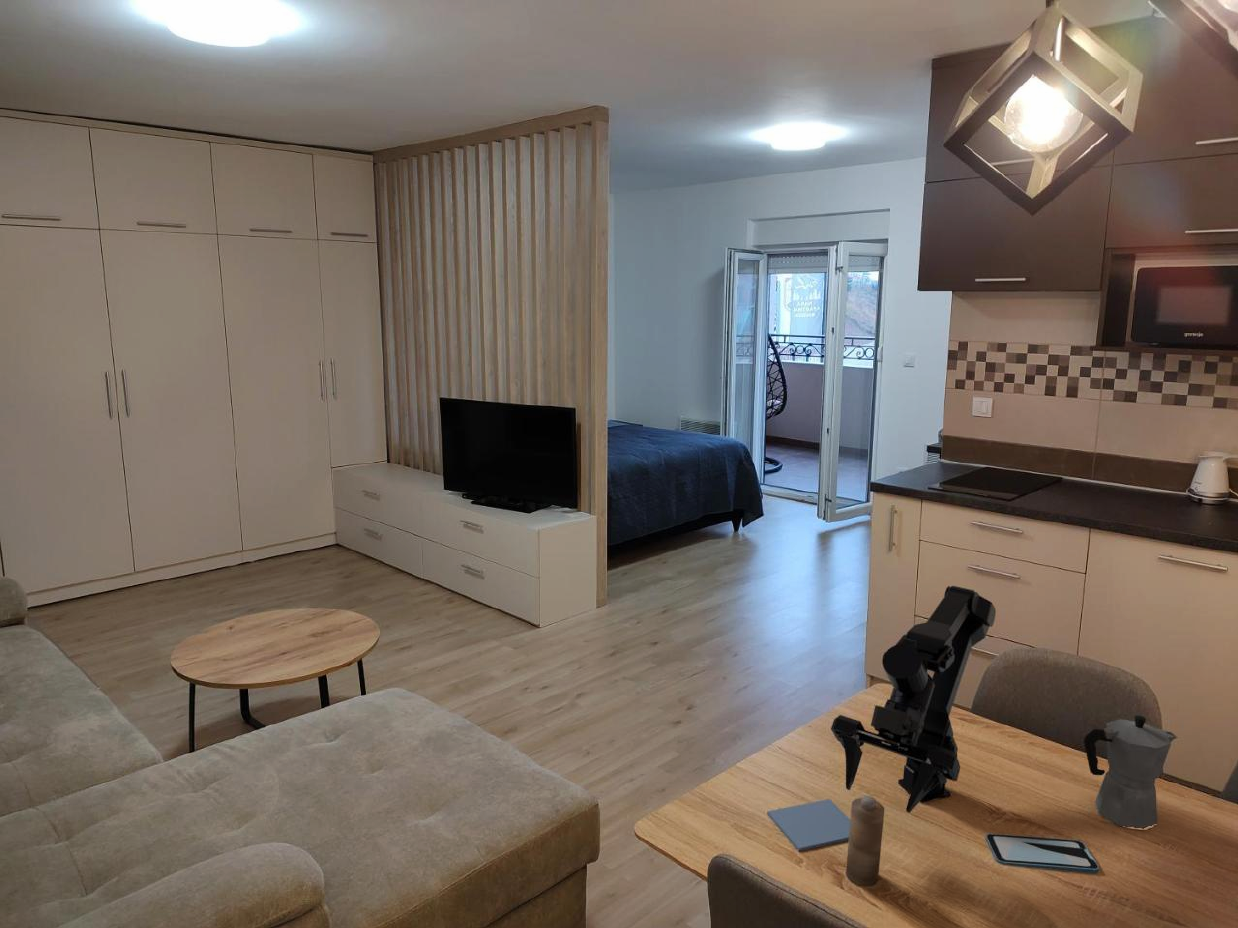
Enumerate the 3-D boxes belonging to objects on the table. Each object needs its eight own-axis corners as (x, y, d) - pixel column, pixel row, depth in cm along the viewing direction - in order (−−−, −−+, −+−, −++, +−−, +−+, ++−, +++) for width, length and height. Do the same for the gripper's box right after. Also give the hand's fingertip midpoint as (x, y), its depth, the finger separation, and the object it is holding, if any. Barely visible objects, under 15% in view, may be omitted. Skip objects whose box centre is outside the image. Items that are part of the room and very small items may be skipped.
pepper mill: (865, 863, 129) (872, 788, 127) (884, 883, 125) (891, 805, 123) (839, 869, 128) (846, 793, 125) (857, 889, 124) (864, 811, 121)
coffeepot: (1145, 798, 148) (1160, 702, 145) (1182, 831, 139) (1199, 730, 135) (1059, 798, 148) (1072, 702, 144) (1090, 832, 138) (1105, 730, 135)
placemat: (829, 801, 145) (829, 798, 145) (864, 836, 136) (864, 833, 136) (767, 813, 141) (767, 811, 141) (798, 850, 132) (798, 848, 132)
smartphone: (983, 832, 137) (1082, 839, 135) (983, 837, 137) (1081, 845, 135) (997, 862, 130) (1101, 870, 128) (997, 867, 130) (1101, 875, 128)
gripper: (840, 667, 134) (805, 760, 127) (962, 702, 123) (932, 806, 116) (855, 695, 142) (823, 784, 135) (971, 731, 131) (943, 830, 124)
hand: (877, 799), depth 127 cm, fingers open, 9 cm apart
